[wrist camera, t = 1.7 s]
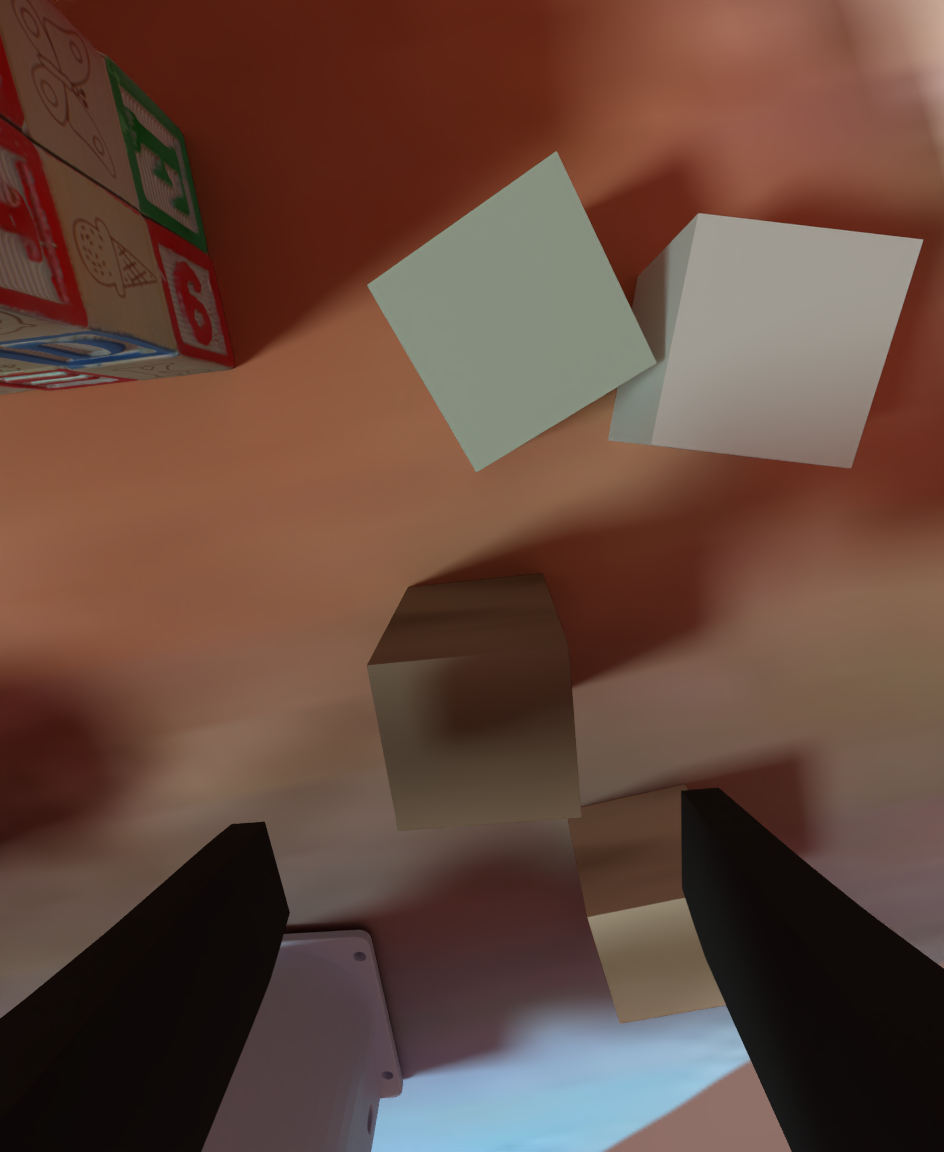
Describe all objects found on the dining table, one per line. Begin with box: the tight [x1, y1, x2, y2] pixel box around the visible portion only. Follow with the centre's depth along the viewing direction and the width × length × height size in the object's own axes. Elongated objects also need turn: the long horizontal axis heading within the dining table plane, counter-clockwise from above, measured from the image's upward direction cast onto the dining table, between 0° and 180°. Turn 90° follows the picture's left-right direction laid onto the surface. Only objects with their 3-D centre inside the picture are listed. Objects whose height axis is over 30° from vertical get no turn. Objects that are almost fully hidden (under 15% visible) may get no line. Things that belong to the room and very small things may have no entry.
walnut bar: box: [367, 573, 581, 831], centre depth 15 cm, size 4×4×6 cm
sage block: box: [367, 151, 657, 472], centre depth 13 cm, size 4×4×4 cm
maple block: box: [568, 784, 726, 1024], centre depth 18 cm, size 4×4×4 cm
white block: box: [608, 213, 923, 468], centre depth 13 cm, size 4×4×4 cm
